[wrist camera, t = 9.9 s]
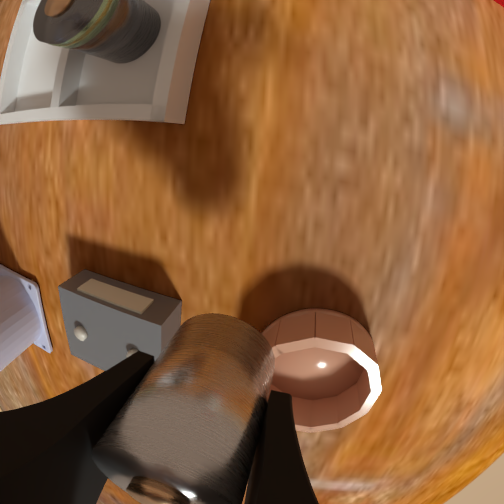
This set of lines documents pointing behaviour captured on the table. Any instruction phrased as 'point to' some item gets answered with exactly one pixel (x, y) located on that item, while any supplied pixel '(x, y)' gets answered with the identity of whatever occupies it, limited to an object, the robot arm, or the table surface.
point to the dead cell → (193, 417)
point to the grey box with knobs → (115, 319)
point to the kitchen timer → (500, 2)
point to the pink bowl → (324, 367)
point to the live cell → (98, 27)
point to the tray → (102, 73)
